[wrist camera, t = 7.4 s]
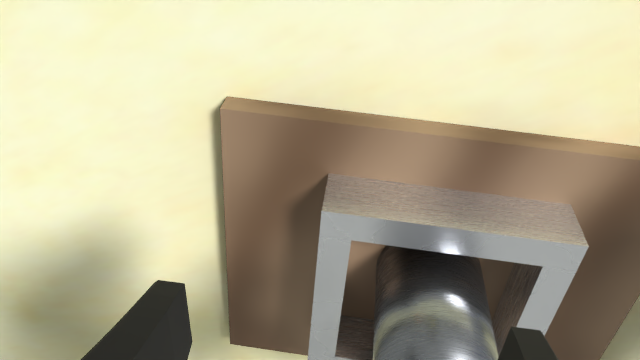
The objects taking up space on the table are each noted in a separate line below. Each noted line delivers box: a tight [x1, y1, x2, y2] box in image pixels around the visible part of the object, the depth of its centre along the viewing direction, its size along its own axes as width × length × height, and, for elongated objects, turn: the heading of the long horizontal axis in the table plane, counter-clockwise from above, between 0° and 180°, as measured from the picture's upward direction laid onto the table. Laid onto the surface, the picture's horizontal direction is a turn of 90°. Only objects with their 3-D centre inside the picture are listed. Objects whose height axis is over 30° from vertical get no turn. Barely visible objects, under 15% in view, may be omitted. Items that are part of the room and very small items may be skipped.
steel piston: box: [373, 245, 498, 360], centre depth 20 cm, size 4×4×7 cm
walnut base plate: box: [220, 97, 640, 360], centre depth 24 cm, size 18×14×1 cm
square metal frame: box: [308, 173, 589, 360], centre depth 22 cm, size 9×9×2 cm
